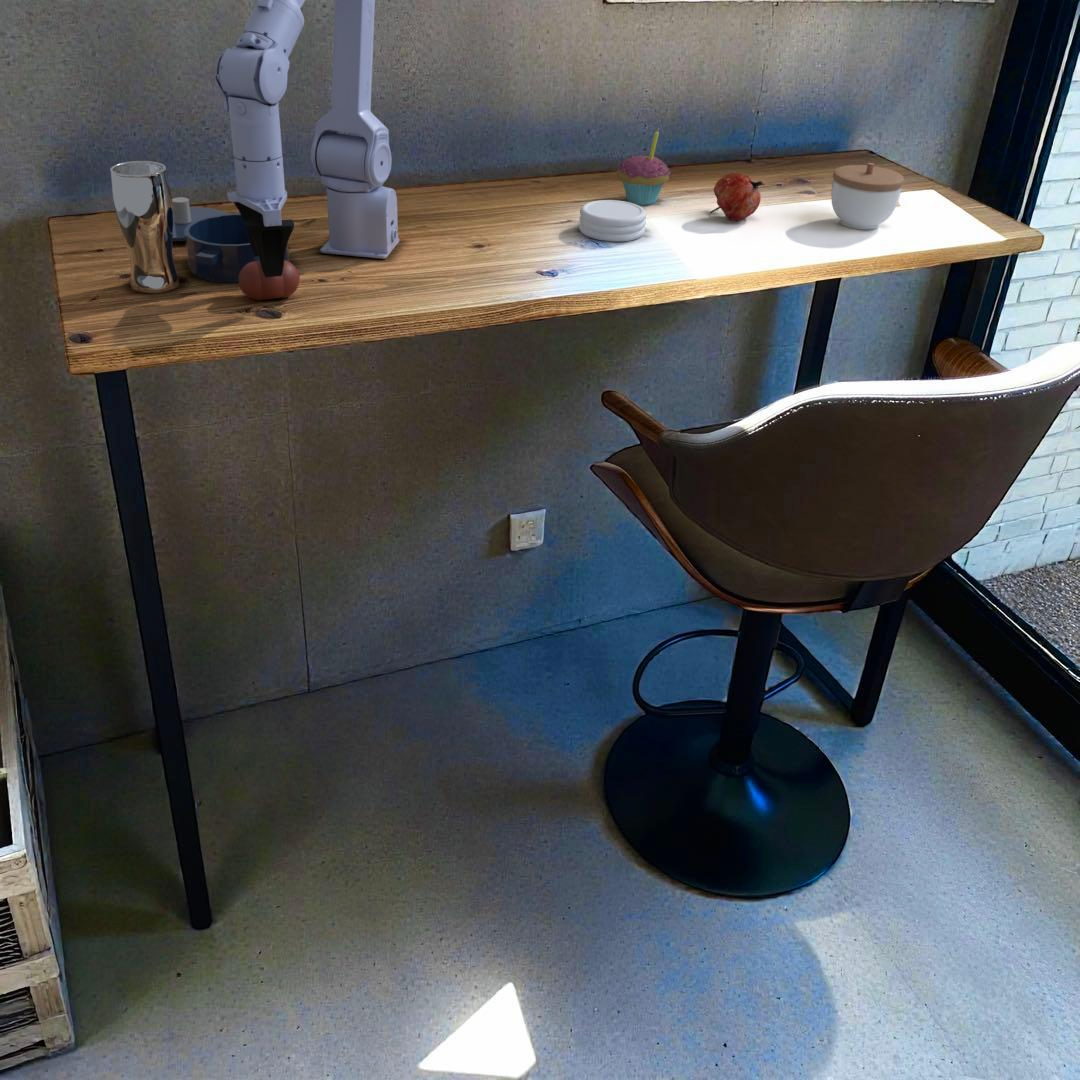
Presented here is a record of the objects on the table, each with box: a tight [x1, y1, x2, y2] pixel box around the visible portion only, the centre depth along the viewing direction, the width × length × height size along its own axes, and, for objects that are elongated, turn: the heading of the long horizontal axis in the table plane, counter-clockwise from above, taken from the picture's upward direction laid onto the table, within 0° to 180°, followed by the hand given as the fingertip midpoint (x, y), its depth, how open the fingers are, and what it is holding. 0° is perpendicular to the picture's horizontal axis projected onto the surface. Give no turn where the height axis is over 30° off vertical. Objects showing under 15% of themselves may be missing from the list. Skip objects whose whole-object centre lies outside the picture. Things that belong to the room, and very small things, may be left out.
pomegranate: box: [709, 172, 766, 222], centre depth 183 cm, size 7×7×10 cm
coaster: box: [578, 199, 647, 243], centre depth 175 cm, size 10×10×4 cm
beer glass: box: [109, 160, 180, 294], centre depth 147 cm, size 7×7×15 cm
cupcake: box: [616, 127, 672, 206], centre depth 187 cm, size 9×8×12 cm
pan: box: [184, 213, 290, 284], centre depth 157 cm, size 13×19×5 cm
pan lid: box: [172, 196, 228, 242], centre depth 168 cm, size 14×14×4 cm
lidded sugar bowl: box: [830, 162, 905, 231], centre depth 182 cm, size 11×11×9 cm
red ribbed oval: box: [238, 260, 300, 301], centre depth 148 cm, size 8×5×5 cm, turn 111°
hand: (267, 265), depth 147 cm, fingers open, 7 cm apart
